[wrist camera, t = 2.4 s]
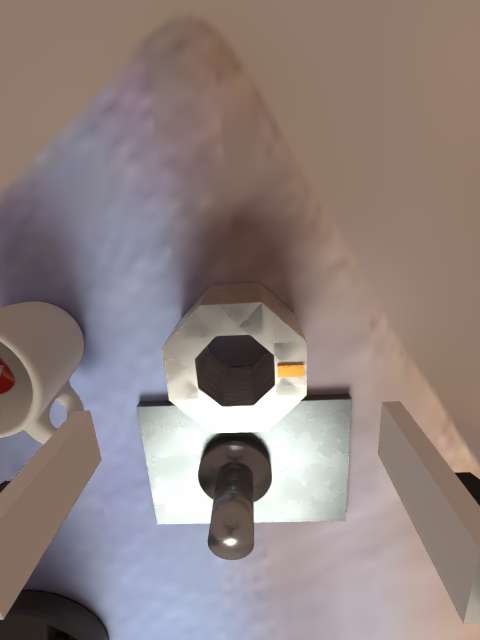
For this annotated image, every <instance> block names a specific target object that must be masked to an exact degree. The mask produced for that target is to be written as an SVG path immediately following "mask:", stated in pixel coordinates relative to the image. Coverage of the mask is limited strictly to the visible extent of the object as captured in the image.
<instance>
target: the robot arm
mask: <svg viewBox="0 0 480 640" xmlns="http://www.w3.org/2000/svg"><path fill="white" fill-rule="evenodd" d="M378 455H379V457H380V459H381V461H382V463H383V465H384V467H385V469H386V471H387V473H388V475H389V477H390V479H391V481H392V483H393V485H394V487H395V489H396V491H397V493H398V495H399V497H400V499H401V501H402V503H403V505H404V507H405V509H406V511H407V513H408V515H409V517H410V519H411V521H412V523H413V525H414V527H415V529H416V531H417V533H418V535H419V537H420V538H421V540H422V542H423V544H424V546H425V548H426V550H427V552H428V554H429V556H430V558H431V560H432V562H433V564H434V566H435V568H436V570H437V572H438V574H439V576H440V578H441V580H442V582H443V584H444V586H445V588H446V590H447V592H448V594H449V596H450V598H451V600H452V602H453V604H454V606H455V608H456V610H457V612H458V614H459V616H460V618H461V620H462V622H463V624H480V479H478V478H477V477H476V476H474V475H473V474H472V473H470V472H463V473H454V472H453V470H452V469H451V468H450V466H449V465H448V464H447V462H446V461H445V460H444V458H443V457H442V456H441V455H440V453H439V452H438V451H437V449H436V448H435V447H434V445H433V444H432V443H431V441H430V440H429V439H428V437H427V436H426V435H425V433H424V432H423V431H422V429H421V428H420V427H419V426H418V424H417V423H416V422H415V420H414V419H413V418H412V416H411V415H410V414H409V412H408V411H407V410H406V408H405V407H404V406H403V404H402V403H401V402H400V401H398V402H382V411H381V423H380V435H379V447H378ZM101 460H102V459H101V455H100V451H99V447H98V442H97V438H96V434H95V429H94V425H93V421H92V417H91V412H90V411H74V412H73V413H72V414H71V415H70V416H69V417H68V418H67V419H66V421H65V422H64V423H63V424H62V425H61V426H60V427H59V428H58V429H57V431H56V432H55V433H54V434H53V435H52V436H51V437H50V438H49V439H48V441H47V442H46V443H45V444H44V445H43V446H42V447H41V448H40V450H39V451H38V452H37V453H36V454H35V455H34V456H33V457H32V458H31V460H30V461H29V462H28V463H27V464H26V465H25V466H24V467H23V468H22V470H21V471H20V472H19V473H18V474H17V475H16V476H15V477H14V478H13V480H12V481H4V482H3V483H1V484H0V640H108V636H107V633H106V631H105V629H104V627H103V626H102V624H101V623H100V622H99V620H98V619H97V618H96V617H95V616H94V615H93V614H92V613H90V612H89V611H88V610H87V609H85V608H84V607H82V606H80V605H79V604H77V603H75V602H73V601H71V600H69V599H66V598H64V597H61V596H57V595H54V594H50V593H44V592H36V591H22V592H21V590H22V589H23V587H24V585H25V584H26V582H27V581H28V579H29V577H30V576H31V574H32V572H33V571H34V569H35V567H36V566H37V564H38V563H39V561H40V559H41V558H42V556H43V554H44V553H45V551H46V550H47V548H48V546H49V545H50V543H51V541H52V540H53V538H54V536H55V535H56V533H57V532H58V530H59V528H60V527H61V525H62V523H63V522H64V520H65V519H66V517H67V515H68V514H69V512H70V510H71V509H72V507H73V505H74V504H75V502H76V501H77V499H78V497H79V496H80V494H81V492H82V491H83V489H84V488H85V486H86V484H87V483H88V481H89V479H90V478H91V476H92V474H93V473H94V471H95V470H96V468H97V466H98V465H99V463H100V461H101Z"/></svg>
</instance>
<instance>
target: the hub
mask: <svg viewBox="0 0 480 640" xmlns="http://www.w3.org/2000/svg"><path fill="white" fill-rule="evenodd" d="M229 335H251V336H252V337H253V338H254V339H255V340H257V341H258V342H259V343H260V344H261V345H262V346H264V347H265V348H266V349H267V350H268V351H267V352H266V353H265V354H264V355H263V356H262V357H261V358H260V359H259V360H258V361H257V362H256V363H255V364H254V365H253V366H239V367H228V366H226V365H225V364H224V363H223V362H221V361H220V360H219V359H218V358H216V357H215V356H214V355H213V354H212V353H210V352H209V346H208V344H209V343H210V342H211V341H212V340H213V339H214V338H215V337H216V336H229ZM162 354H163V361H164V368H165V375H166V382H167V389H168V396H169V401H171V402H172V403H173V404H175V405H176V406H177V407H178V408H180V409H181V410H182V411H184V412H185V413H186V414H188V415H189V416H190V417H192V418H193V419H194V420H196V421H197V422H198V423H200V424H201V425H202V426H204V427H205V428H206V429H208V430H209V431H210V432H212V433H229V432H260V431H268V430H269V429H270V428H271V427H272V426H274V425H275V424H276V423H277V422H278V421H279V420H280V419H281V418H282V417H283V416H285V415H286V414H287V413H288V412H289V411H290V410H291V409H292V408H293V407H294V406H295V405H297V404H298V403H299V402H300V401H301V400H302V399H303V398H304V397H305V396H306V395H307V341H306V339H305V337H304V335H303V332H302V330H301V328H300V325H299V323H298V321H297V318H296V316H295V314H294V313H293V312H292V311H291V310H290V309H289V308H288V307H287V306H285V305H284V304H283V303H282V302H281V301H280V300H279V299H278V298H277V297H275V296H274V295H273V294H272V293H271V292H270V291H269V290H268V289H266V288H265V287H264V286H263V285H262V284H261V283H260V282H253V283H235V284H216V285H210V286H209V287H208V289H207V290H206V291H205V292H204V293H203V294H202V295H201V297H200V298H199V299H198V300H197V301H196V302H195V304H194V305H193V306H192V307H191V308H190V309H189V310H188V312H187V313H186V314H185V315H184V316H183V317H182V318H181V320H180V321H179V323H178V324H177V326H176V327H175V329H174V330H173V332H172V333H171V335H170V336H169V338H168V339H167V341H166V342H165V344H164V345H163V347H162Z"/></svg>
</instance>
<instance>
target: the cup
mask: <svg viewBox="0 0 480 640" xmlns="http://www.w3.org/2000/svg"><path fill="white" fill-rule="evenodd" d="M83 353H84V338H83V334H82V331H81V329H80V327H79V325H78V324H77V322H76V321H75V320H74V319H73V317H72V316H71V315H69V314H68V313H67V312H66V311H64V310H63V309H61V308H59V307H57V306H55V305H52V304H49V303H45V302H37V301H31V302H22V303H17V304H12V305H8V306H4V307H0V438H2V437H7V436H10V435H13V434H16V433H18V432H20V431H22V430H24V431H26V432H27V433H28V434H29V435H30V436H32V437H33V438H34V439H35V440H37V441H38V442H40V443H42V444H45V443H46V442H47V441H48V439H49V438H50V437H51V436H52V435H53V434H54V433H55V432H56V431H57V428H55V427H54V426H53V425H52V423H51V421H50V417H49V412H50V408H51V405H52V404H53V402H54V401H59V402H61V403H62V404H63V405H64V406H65V408H66V410H67V418H68V417H69V416H70V415H71V414H72V413H73V412H74V411H84V407H83V404H82V401H81V399H80V398H79V396H78V395H77V394H76V392H75V391H74V390H73V388H72V387H71V385H70V383H69V379H70V377H71V375H72V374H73V373H74V371H75V370H76V368H77V367H78V365H79V364H80V362H81V359H82V357H83Z"/></svg>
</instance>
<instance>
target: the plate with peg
mask: <svg viewBox="0 0 480 640" xmlns="http://www.w3.org/2000/svg"><path fill="white" fill-rule="evenodd" d="M351 404H352V399H351V397H350V395H349V394H342V395H315V396H305V397H304V398H303V399H302V400H301V401H300V402H299V403H298V404H297V405H295V406H294V407H293V408H292V409H291V410H290V411H289V412H288V413H287V414H286V415H285V416H283V417H282V418H281V419H280V420H279V421H278V422H277V423H276V424H275V425H274V426H272V427H271V428H270V429H269V430H268V431H260V432H229V433H212V432H210V431H209V430H208V429H206V428H205V427H204V426H202V425H201V424H200V423H198V422H197V421H196V420H194V419H193V418H192V417H190V416H189V415H188V414H186V413H185V412H184V411H182V410H181V409H180V408H178V407H177V406H176V405H175V404H173V403H172V402H171V401H153V402H139V404H138V405H137V413H138V418H139V424H140V429H141V435H142V440H143V446H144V452H145V457H146V463H147V468H148V474H149V480H150V485H151V491H152V496H153V502H154V508H155V513H156V519H157V524H194V523H210V528H209V536H208V546H209V548H210V550H211V551H212V552H213V553H214V554H215V555H216V556H218V557H220V558H223V559H227V560H237V559H241V558H244V557H246V556H247V555H249V554H250V553H251V551H252V550H253V547H254V522H300V521H346V510H347V489H348V468H349V446H350V425H351Z"/></svg>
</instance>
